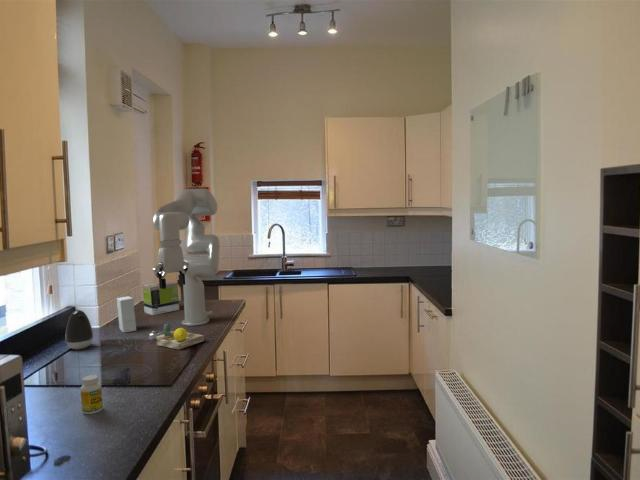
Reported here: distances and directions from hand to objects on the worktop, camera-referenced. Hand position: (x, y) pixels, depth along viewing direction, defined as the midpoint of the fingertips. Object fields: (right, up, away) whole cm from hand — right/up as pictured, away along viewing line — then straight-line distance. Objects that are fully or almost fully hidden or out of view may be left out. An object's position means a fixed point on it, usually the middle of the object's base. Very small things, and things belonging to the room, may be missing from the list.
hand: (172, 286), depth 203 cm
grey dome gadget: (-37, -25, 0) cm, 45 cm away
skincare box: (-28, -22, +25) cm, 43 cm away
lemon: (+3, -22, +1) cm, 23 cm away
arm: (0, -23, +3) cm, 23 cm away
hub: (-10, -23, +9) cm, 27 cm away
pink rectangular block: (-3, -23, +8) cm, 24 cm away
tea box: (-23, -19, +60) cm, 67 cm away
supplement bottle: (-5, -29, -61) cm, 68 cm away
